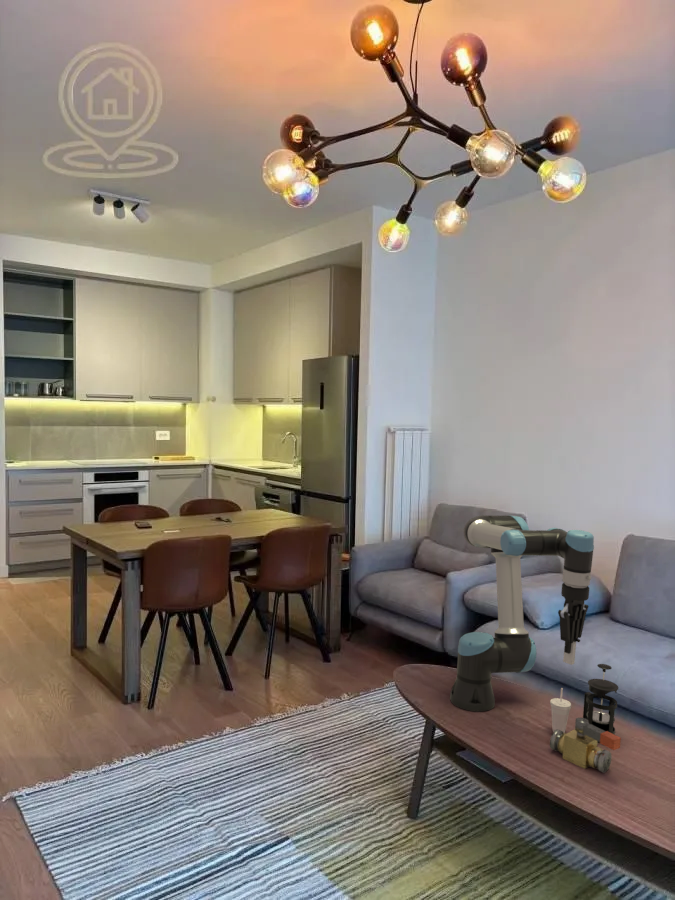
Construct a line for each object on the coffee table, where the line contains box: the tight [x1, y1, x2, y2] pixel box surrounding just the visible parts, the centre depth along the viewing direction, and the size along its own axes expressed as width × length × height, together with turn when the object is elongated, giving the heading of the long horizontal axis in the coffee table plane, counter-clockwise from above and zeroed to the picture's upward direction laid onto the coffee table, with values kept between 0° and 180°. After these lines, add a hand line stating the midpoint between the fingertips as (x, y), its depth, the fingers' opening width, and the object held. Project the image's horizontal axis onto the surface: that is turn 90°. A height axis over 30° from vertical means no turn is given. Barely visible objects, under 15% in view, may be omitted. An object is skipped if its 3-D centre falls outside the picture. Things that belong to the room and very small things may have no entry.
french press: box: [582, 663, 619, 744], centre depth 212 cm, size 12×9×23 cm
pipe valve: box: [549, 728, 612, 774], centre depth 196 cm, size 16×6×9 cm, turn 42°
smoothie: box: [549, 687, 572, 733], centre depth 213 cm, size 6×6×14 cm
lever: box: [574, 717, 622, 751], centre depth 192 cm, size 13×4×3 cm, turn 33°
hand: (568, 662), depth 197 cm, fingers closed
